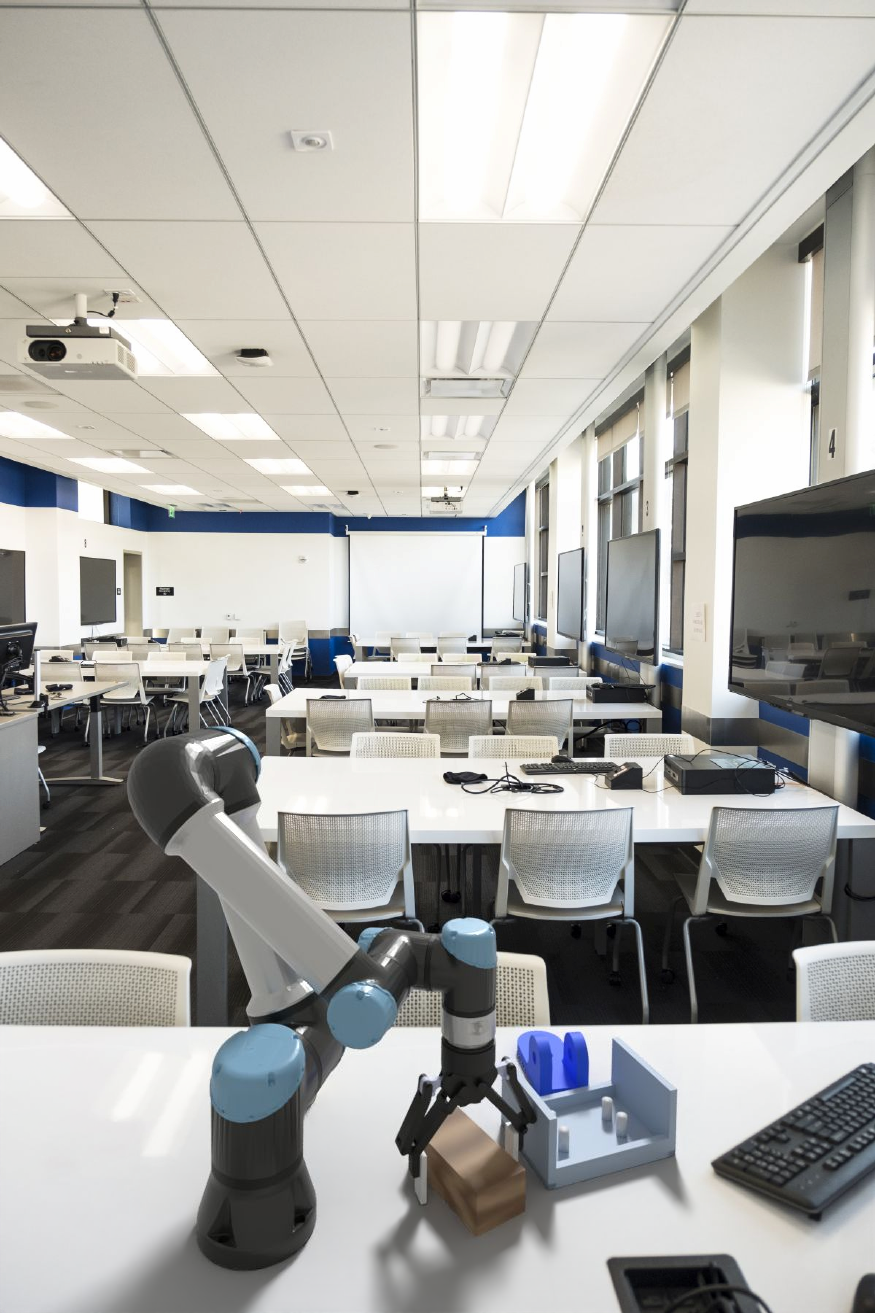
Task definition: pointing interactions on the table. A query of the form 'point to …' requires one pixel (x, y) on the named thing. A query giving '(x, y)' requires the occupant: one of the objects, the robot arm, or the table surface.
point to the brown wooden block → (474, 1174)
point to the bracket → (554, 1061)
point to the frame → (600, 1122)
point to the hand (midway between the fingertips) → (466, 1185)
